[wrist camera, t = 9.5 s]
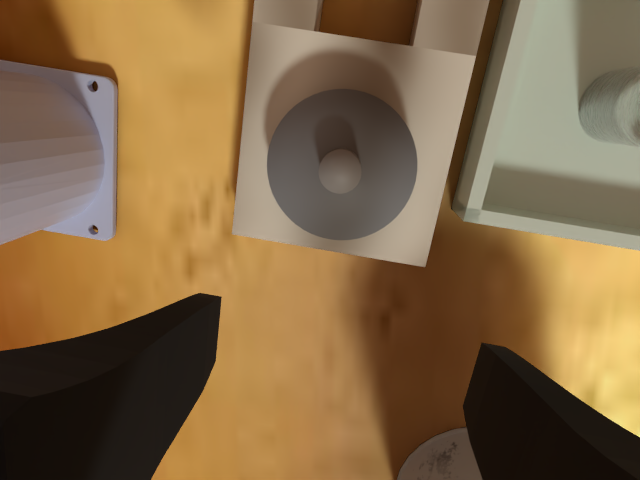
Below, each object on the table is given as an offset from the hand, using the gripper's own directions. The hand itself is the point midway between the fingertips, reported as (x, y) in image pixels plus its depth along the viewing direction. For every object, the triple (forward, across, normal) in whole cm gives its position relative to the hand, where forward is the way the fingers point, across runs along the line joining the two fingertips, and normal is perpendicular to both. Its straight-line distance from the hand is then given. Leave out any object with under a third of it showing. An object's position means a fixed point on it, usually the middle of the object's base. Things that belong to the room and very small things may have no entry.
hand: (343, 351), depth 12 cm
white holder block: (+10, +1, -8) cm, 13 cm away
